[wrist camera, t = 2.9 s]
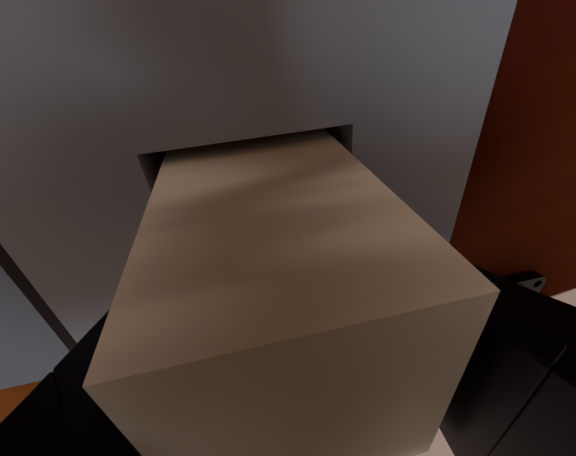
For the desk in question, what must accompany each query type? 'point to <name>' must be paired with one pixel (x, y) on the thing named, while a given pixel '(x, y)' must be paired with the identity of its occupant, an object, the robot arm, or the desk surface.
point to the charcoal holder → (221, 111)
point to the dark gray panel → (27, 329)
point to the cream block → (284, 309)
